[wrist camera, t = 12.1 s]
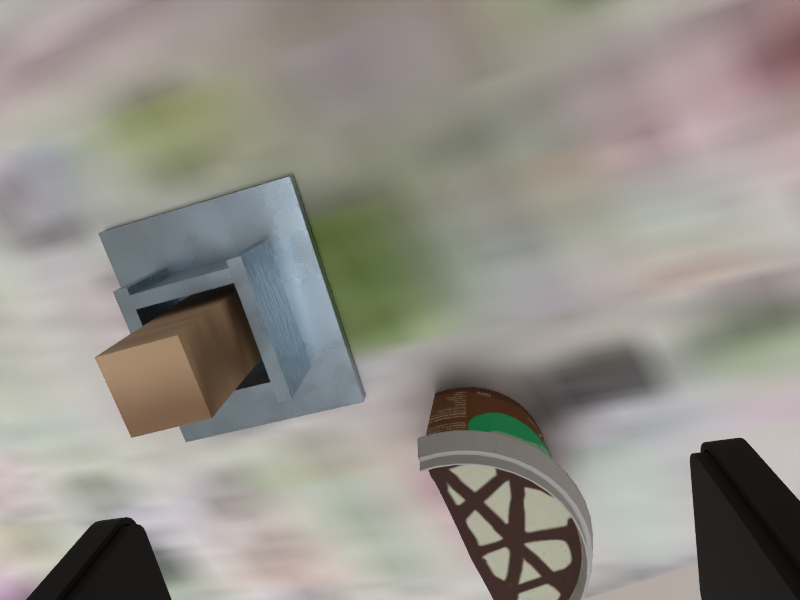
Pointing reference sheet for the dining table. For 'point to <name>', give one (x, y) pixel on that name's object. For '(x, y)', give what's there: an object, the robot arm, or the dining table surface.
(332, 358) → the cup bracket
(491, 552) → the food container
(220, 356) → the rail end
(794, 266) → the dining table surface
